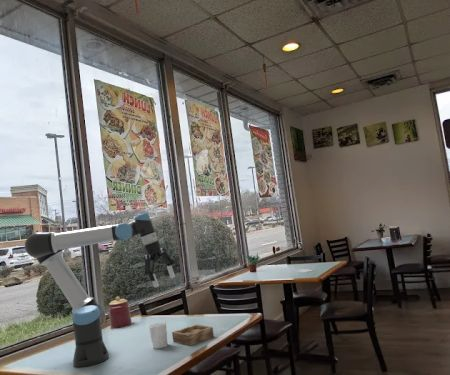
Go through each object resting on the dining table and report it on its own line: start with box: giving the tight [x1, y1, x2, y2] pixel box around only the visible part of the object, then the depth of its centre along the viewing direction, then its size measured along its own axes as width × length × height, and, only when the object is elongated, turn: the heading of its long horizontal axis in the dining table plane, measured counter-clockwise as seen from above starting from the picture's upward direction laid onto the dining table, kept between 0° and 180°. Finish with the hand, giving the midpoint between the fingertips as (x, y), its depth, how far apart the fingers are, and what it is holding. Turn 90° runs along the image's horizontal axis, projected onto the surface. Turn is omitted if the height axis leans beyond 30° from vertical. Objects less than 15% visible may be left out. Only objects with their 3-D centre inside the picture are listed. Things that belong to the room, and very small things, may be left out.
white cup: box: [148, 321, 168, 350], centre depth 189 cm, size 8×8×10 cm
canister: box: [107, 296, 132, 329], centre depth 251 cm, size 13×13×18 cm
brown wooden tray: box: [171, 324, 215, 346], centre depth 192 cm, size 14×14×4 cm
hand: (165, 282), depth 205 cm, fingers open, 13 cm apart
